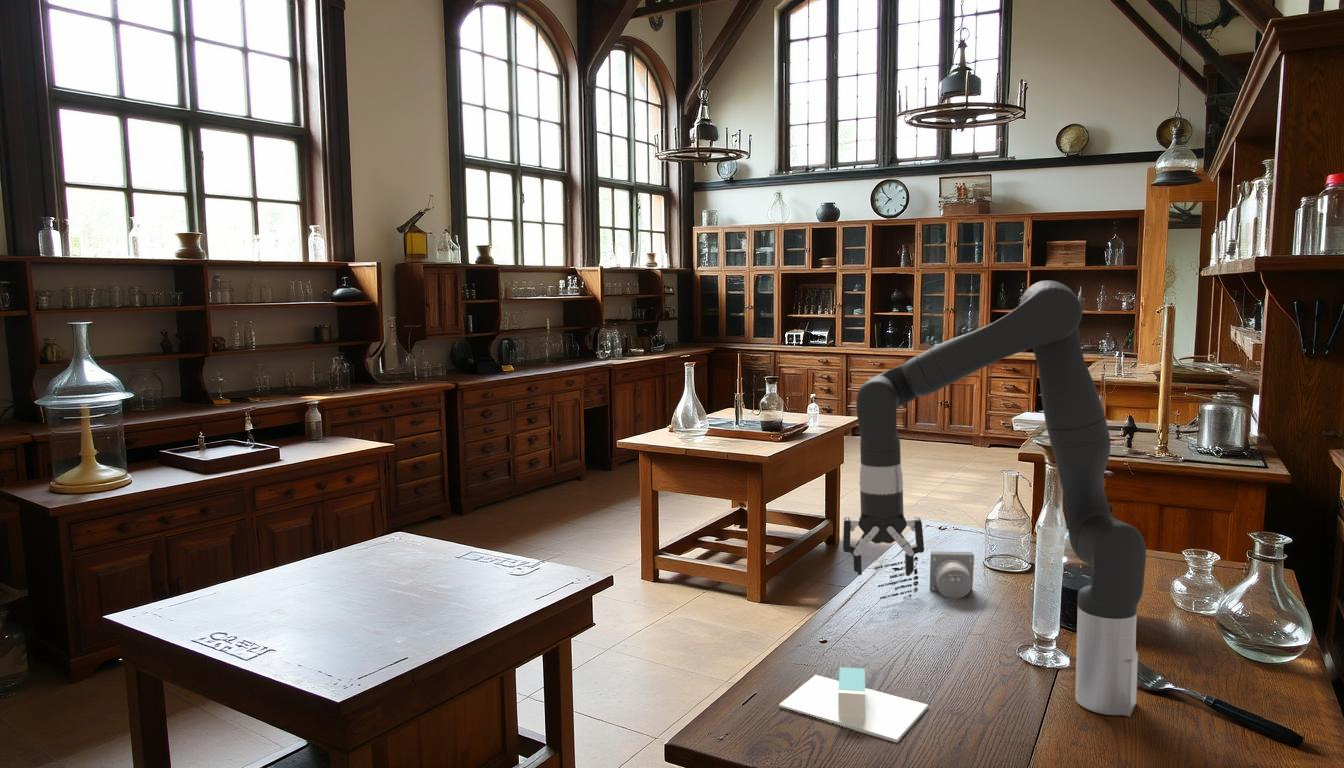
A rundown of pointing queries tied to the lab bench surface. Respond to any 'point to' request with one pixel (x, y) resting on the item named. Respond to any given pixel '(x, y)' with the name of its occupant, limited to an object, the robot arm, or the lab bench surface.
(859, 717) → the teal block
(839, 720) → the white board
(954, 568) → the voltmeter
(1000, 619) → the lab bench surface
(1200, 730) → the lab bench surface
